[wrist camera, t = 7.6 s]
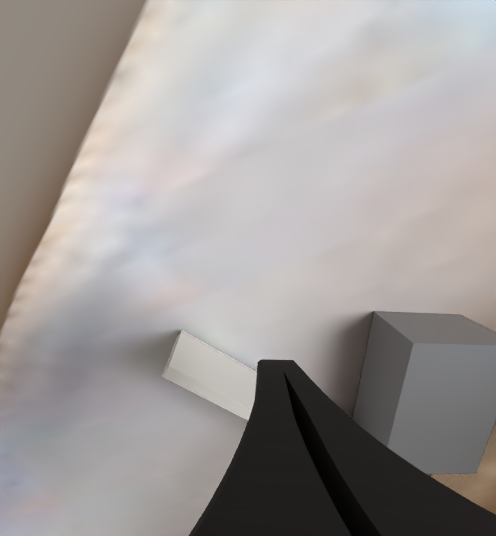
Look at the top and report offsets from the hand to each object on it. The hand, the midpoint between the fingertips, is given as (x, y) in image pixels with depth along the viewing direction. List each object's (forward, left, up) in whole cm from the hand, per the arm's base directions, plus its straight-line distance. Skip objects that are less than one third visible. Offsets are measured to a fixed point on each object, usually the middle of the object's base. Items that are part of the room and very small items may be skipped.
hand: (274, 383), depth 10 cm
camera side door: (-2, +7, -9) cm, 12 cm away
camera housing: (-13, +6, -9) cm, 17 cm away
